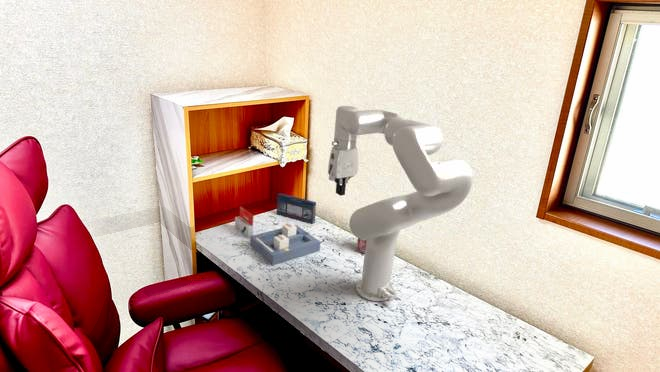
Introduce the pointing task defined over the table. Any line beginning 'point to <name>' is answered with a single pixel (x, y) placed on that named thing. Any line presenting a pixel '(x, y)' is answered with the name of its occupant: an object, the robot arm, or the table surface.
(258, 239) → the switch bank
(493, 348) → the table surface
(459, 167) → the robot arm
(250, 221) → the ink box
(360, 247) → the soda can
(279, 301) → the table surface
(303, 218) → the vhs cassette tape
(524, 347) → the table surface
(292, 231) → the tab
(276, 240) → the tab
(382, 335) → the table surface
